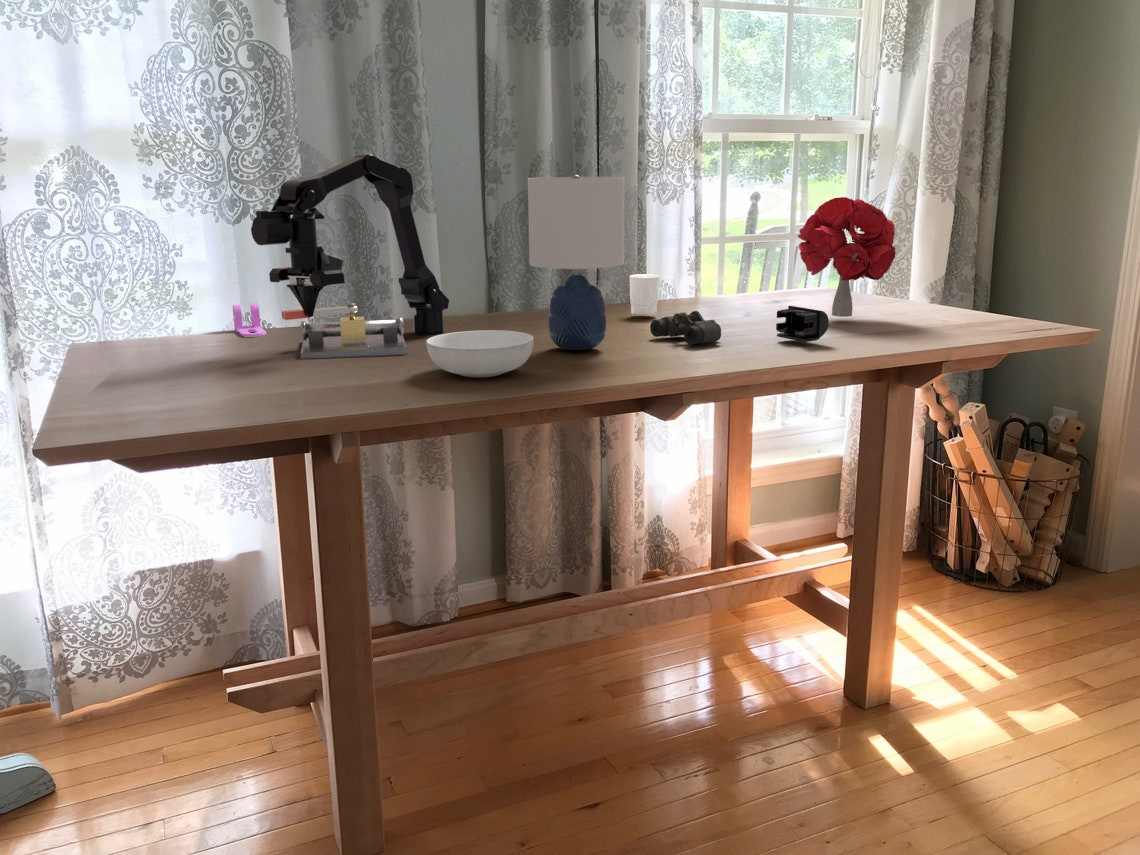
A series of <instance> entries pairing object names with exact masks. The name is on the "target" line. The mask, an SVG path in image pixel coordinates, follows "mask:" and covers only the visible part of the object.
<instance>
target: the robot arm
mask: <svg viewBox="0 0 1140 855" xmlns="http://www.w3.org/2000/svg"><path fill="white" fill-rule="evenodd" d="M362 177H363V178H364V180H365V181H366V182H368V183H370V184H371V185H373V186H374V188H375V190H376V192H377V195H378V197H379V199H380V200H381V201H382V203H383V204H384V205H385V207H386V208H387V209H388V211H389V214H390V217H391V222H392V226H393V228H394V232H395V237H396V240H397V244H398V248H399V252H400V255H401V260H402V264H403V267H404V270H403V275H402V277H398V284H399V286H400V290H401V291H400V292H401V293H400V294H401V295H403V297H404V298H405V300H406V301H407V304H408V306H409V308H410V309H414V310H415V313H414V314H412V319H413V320H412V321H413V331H414V334H416V333H417V334H416V335H418V336H417V337H419V336H420V337H421V336H437V335H442V334H446V333H445V331H444V319H443V318H444V317H443V313H444V312H443V311H444V310H448V308H449V303H450V299H449V298H448V296H446V295H445V294H444V293H443V292H442V291H441V289H440V286H439V284H438V281H437V278H436V276H435V274H434V273H433V272H432V271H431V269H430V268H429V267H428V265H427V264H426V260H425V257H424V253H423V250H422V246H421V241H420V237H419V234H418V230H417V226H416V222H415V218H414V214H413V211H412V200H413V196H414V185H413V177H412V174H411V172H410V171H409V170H407V169H406V168H404V167H398V166H396V165H395V164H392V163H389V162H387V161H384V160H381V159H380V158H378V157H376V155H374V154H371V153H365V154H362V153H361V154H356V155H354V157H352V158H350V159H347V160H346V161H343V162H342V163H339V164H337V165H334V166H333V167H331V168H328V169H326V170H324V171H322V172H320V173H317V174H315V175H311V176H304V177H298V178H294V179H290V180H286V181H285V182H283V183H282V184H281V185H280V186H281V188H280V190H279V195H278V197H277V199H276V201H275V202H274V204H273V206H272V207H271V210H269V211H268V210H256V211H255V216H256V217H255V218H254V219H253V221H252V223H251V227H250V232H251V236H252V239H253V241H254V242H255V244H257V245H258V246H270V245H271V246H272V245H283V244H288V246H289V247H285V254H289V257H290V266H285V267H277V268H272V269H271V270H270V271H269V281H270V283H280V282H281V281H289V284H286V287H287V288H288V289H290V291H291V293H292V294H293V295H294V297H295V298H296V300H297V301H298V303H299V305H300V307H301V309H303V310H304V312H305V313H306V315H307V317H309V318H313V317H314V316H313V314H314V310H315V309H316V305H317V301H318V298H319V295H320V292H321V291H322V290H323V289H324V288H325V287H327V286H331V285H339V284H345V283H346V279H345V278H346V277H345V273H344V272H343V271H342V269H343V265H344V260H343V259H340V258H337V257H334V256H332V255H328V254H326V253H325V252H324V250H325V249H324V248H323V246H319V244H318V234H317V222H316V220H324V219H325V215H324V214H322V213H321V212H320V211H319V210H318V209H317V208H316V206H318V205H319V204H320V203H322V202H323V201H324V200H325V199H326V197H327V195H329V194H330V193H331V192H333V191H335V190H337V189H340V188H342V187H344V186H346V185H347V184H350V183H353V182H354V181H356V180H359V179H360V178H362Z"/></svg>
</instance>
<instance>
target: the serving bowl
mask: <svg viewBox="0 0 1140 855" xmlns="http://www.w3.org/2000/svg"><path fill="white" fill-rule="evenodd" d="M534 342H535V337H534V336H533V335H532V334H530V333H527V332H526V333H525V332H521V331H517V330H515V331H514V330H504V329H503V330H502V329H501V330H499V329H494V330H493V329H492V330H490V329H483V330H482V329H481V330H468V331H467V330H466V331H464V330H463V331H455V332H449V333H445V334H442V335H433V336H431V337H429V338H428V339H426V340H425V344H426V345H425V346H426V348H427V352H428V355H429V357H430V359H431V362H433V363H434V364H435V365H436V366H437V367H438V368H440V369H441V370H443V371H446V372H448V373H451V374H456V375H459V376H461V377H465V378H466V377H468V378H490V377H491V378H493V377H496V376H501V375H503V374H505V373H509V372H511V371H513V370H517V369H519V367H521V366H523V365H524V364H525V363H527V361H528V359H529V358H530V356H531V354H532V353H533V349H534Z"/></svg>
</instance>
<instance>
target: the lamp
mask: <svg viewBox="0 0 1140 855" xmlns="http://www.w3.org/2000/svg"><path fill="white" fill-rule="evenodd" d="M527 203H528V206H527V207H528V209H527V210H528V252H529V254H528V256H529V266H531V267H533V268H535V267H536V268H540V269H541V268H542V269H553V270H555V269H557V270H571V273H570V275H567V278H566V280H565V282H564V283H563V284H560V285H559V286H558V287H556V288H555V289H554V290H553V292H552V295H551V298H550V300H549V308H548V318H547V319H548V320H547V321H548V322H547V323H548V326H547V327H548V332H549V337H550V339H551V341H552V342H553V343H554V344H555V346H557V347H558V348H559V349H563V350H568V351H572V350H573V351H575V350H576V351H581V350H582V351H586V350H591V349H594V348H596V347H598V346H600V344H602V342H603V340H604V338H605V337H606V331H607V314H606V306H605V305H606V304H605V299H604V296H603V294H602V291H601V290H600V289H599V288H598V287H597V286H596V285H593V284H591V283H590V282H589V280H588V278H587V276H586V275H585V274H583V271H582V270H585V269H587V270H589V269H591V270H593V269H606V268H614V267H620V266H623V265H624V264H625V176H579V175H578V174H574V175H573V176H555V177H553V176H551V177H548V176H547V177H528V178H527Z"/></svg>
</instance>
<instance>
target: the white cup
mask: <svg viewBox="0 0 1140 855" xmlns="http://www.w3.org/2000/svg"><path fill="white" fill-rule="evenodd" d="M659 284H660V275H658V274H650V273H647V274H646V273H645V274H644V273H641V274H632V275H631V274H630V275H629V298H630V313H631V314H632V315H634V314H637V315H636V316H652V314H654V315H656V314H657V313H658V312H657V309H658V305H657V304H658V300H659V287H660V286H659Z"/></svg>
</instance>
